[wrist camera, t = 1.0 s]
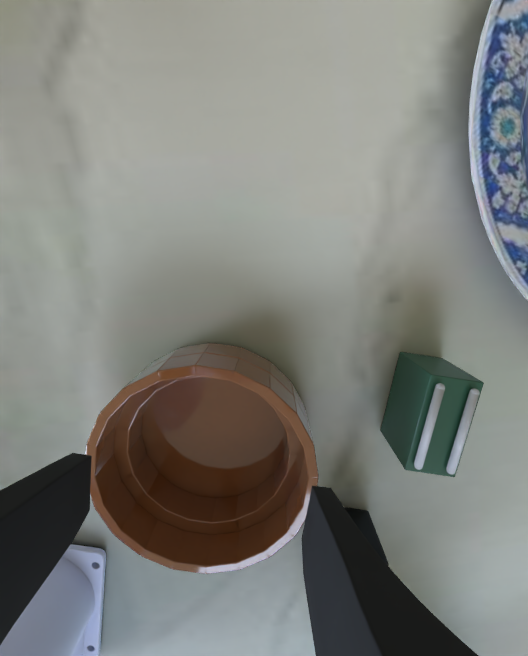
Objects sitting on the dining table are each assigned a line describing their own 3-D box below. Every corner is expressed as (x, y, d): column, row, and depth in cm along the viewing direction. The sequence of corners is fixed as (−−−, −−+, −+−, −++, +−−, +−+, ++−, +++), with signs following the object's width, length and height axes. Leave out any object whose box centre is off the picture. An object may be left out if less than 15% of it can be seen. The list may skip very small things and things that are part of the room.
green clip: (420, 436, 20) (459, 483, 16) (379, 430, 20) (408, 475, 16) (442, 358, 19) (490, 385, 15) (399, 351, 19) (435, 377, 15)
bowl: (290, 519, 21) (295, 587, 17) (119, 494, 21) (80, 556, 17) (322, 356, 19) (338, 386, 15) (131, 327, 19) (90, 349, 15)
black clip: (352, 574, 22) (370, 646, 18) (315, 569, 22) (325, 639, 18) (368, 510, 21) (392, 571, 17) (329, 504, 21) (343, 564, 17)
